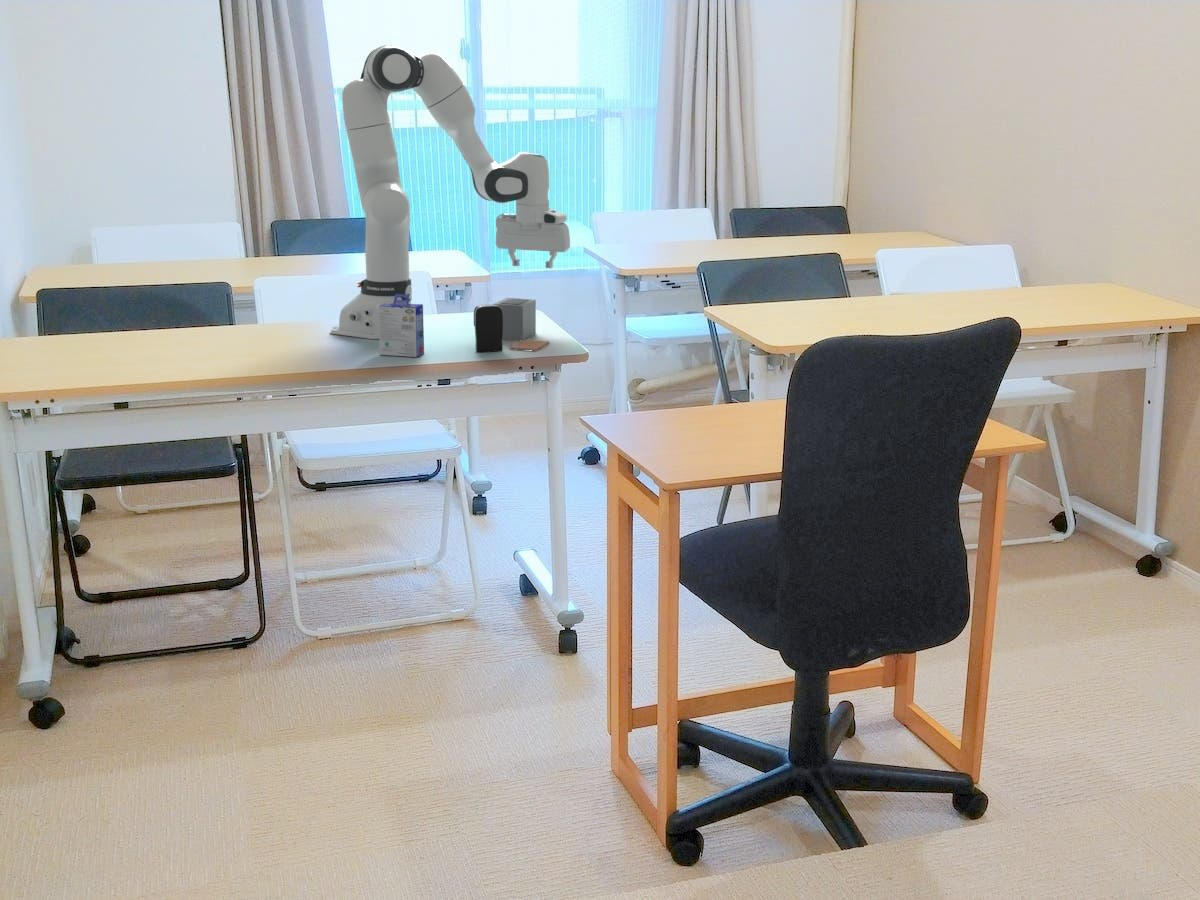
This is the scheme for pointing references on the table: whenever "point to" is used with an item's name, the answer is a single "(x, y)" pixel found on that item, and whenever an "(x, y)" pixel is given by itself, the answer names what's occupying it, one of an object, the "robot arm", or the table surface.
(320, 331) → the table surface
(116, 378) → the table surface
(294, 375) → the table surface
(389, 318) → the ink cartridge box
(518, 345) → the mat
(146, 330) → the table surface
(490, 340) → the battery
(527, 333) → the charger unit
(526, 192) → the robot arm
